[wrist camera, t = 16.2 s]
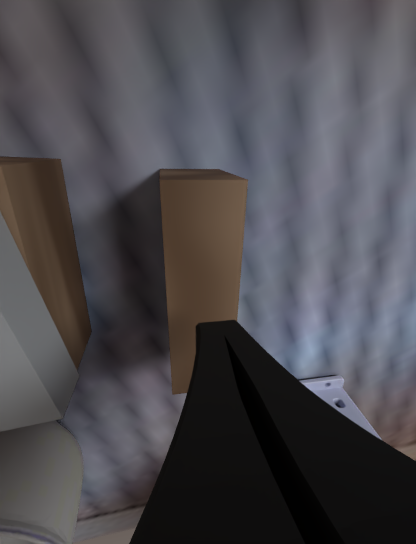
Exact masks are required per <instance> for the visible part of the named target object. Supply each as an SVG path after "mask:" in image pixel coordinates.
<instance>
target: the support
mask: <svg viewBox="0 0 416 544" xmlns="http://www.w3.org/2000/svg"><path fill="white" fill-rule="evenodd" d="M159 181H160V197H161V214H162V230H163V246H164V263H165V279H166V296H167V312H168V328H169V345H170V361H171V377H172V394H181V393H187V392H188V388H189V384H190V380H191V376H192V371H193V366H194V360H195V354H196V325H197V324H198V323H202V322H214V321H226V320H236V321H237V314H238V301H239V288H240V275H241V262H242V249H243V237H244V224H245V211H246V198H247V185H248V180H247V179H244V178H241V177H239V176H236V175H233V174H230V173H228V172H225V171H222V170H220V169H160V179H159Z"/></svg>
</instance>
